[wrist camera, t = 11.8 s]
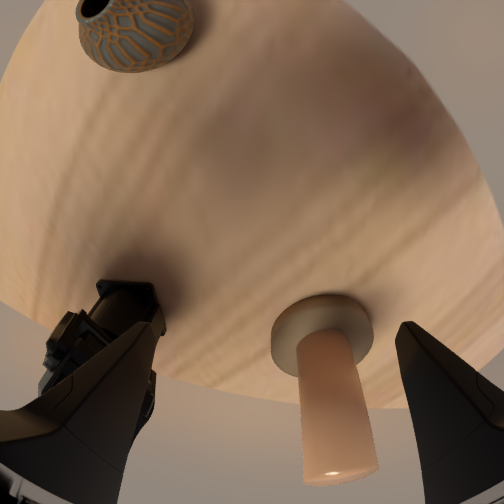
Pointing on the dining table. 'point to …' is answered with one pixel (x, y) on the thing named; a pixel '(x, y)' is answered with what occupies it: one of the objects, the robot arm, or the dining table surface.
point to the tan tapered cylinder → (333, 411)
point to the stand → (319, 327)
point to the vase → (134, 32)
